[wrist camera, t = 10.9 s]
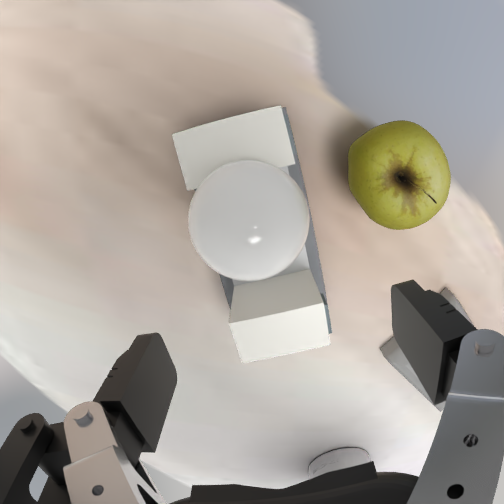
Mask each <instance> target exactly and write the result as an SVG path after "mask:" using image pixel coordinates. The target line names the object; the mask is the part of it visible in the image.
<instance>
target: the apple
mask: <svg viewBox="0 0 504 504" xmlns="http://www.w3.org/2000/svg"><path fill="white" fill-rule="evenodd" d="M450 180H451V176H450V170H449V165H448V161H447V159H446V156H445V154H444V152H443V150H442V148H441V146H440V144H439V143H438V142H437V140H436V139H435V138H434V137H433V136H432V135H431V134H430V133H429V132H428V131H427V130H425V129H424V128H422V127H421V126H420V125H418V124H415V123H413V122H409V121H393V122H389V123H385V124H382V125H379V126H377V127H375V128H373V129H371V130H369V131H368V132H366V133H365V134H364V135H362V136H361V137H360V138H358V139H357V140H356V141H355V142H354V143H353V144H352V145H351V146H350V149H349V152H348V183H349V187H350V190H351V192H352V194H353V196H354V197H355V199H356V200H357V202H358V203H359V204H360V206H361V207H362V208H363V210H364V211H365V213H366V214H367V215H368V216H369V218H370V219H372V220H373V221H374V222H376V223H378V224H379V225H382V226H384V227H387V228H390V229H396V230H402V229H410V228H413V227H417V226H419V225H421V224H423V223H425V222H427V221H428V220H430V219H431V218H432V217H433V216H434V215H436V214H437V212H438V211H439V210H440V209H441V208H442V206H443V205H444V203H445V201H446V199H447V196H448V193H449V188H450Z"/></svg>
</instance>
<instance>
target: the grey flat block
mask: <svg viewBox="0 0 504 504" xmlns="http://www.w3.org/2000/svg"><path fill="white" fill-rule="evenodd" d="M440 294H441V295H442V296H443V297H444V298H446V299H447V300H448V301H449V302H450V304H452V305H453V306H454V307H455V308H456V310H458V311H459V312H460V313H461V314H462V315H463V316H464V317H465V318H466V319H467V320H468V321H469V322H470V323H471V324H472V322H471V321H470V319H469V317H468V316H467V314H466V312H465V311H464V309H463V308H462V306H461V304H460V303H459V301H458V300H457V299H456V297H455V296H454V295H453V294H452V293H451V292H450V291H449V290H448V289H447V288H445V289H444V290H443V291H442V292H441V293H440ZM472 325H473V324H472ZM380 350H381V351H382V353H383V355H384V357H385V358H386V359H387V360H388V362H389V363H390V364H391V365H392V366H393V367H394V368H395V369H396V370H397V371H398V372H400V373H401V374H402V375H403V376H404V377H405V378H406V379H407V380H408V381H409V382H410V383H411V384H412V385H413V386H414V387H415V388H416V389H417V390H418V391H419V392H420V393H422V394H423V395H424V396H425V397H426V398H427V399H428V400H429V401H430V402H431V403H432V401H431V399H430V398H429V396H428V394H427V392H426V391H425V389H424V387H423V385H422V384H421V382H420V380H419V378H418V377H417V375H416V373H415V372H414V370H413V368H412V367H411V365H410V363H409V362H408V360H407V358H406V357H405V355H404V353H403V352H402V350H401V348H400V347H399V345H398V344H397V342H396V340H395V337H393V338H392V339H391V340H389V341H388V342H387V343H386V344H385V345H384V346H382V347H381V348H380ZM445 403H446V401H444V402H442V403H439V404H437V405H434V406H435V407H436V408H437V409H438V410H439V411H440V412H441V411H442V410H443V409H444V407H445ZM432 404H433V403H432Z"/></svg>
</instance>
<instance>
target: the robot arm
mask: <svg viewBox="0 0 504 504" xmlns="http://www.w3.org/2000/svg"><path fill="white" fill-rule="evenodd" d="M391 303H392V328H393V333H394V337H395V340H396V342H397V344H398V345H399V347H400V348H401V350H402V352H403V353H404V355H405V357H406V358H407V360H408V362H409V363H410V365H411V367H412V368H413V370H414V372H415V373H416V375H417V377H418V378H419V380H420V382H421V384H422V385H423V387H424V389H425V391H426V392H427V394H428V396H429V398H430V399H431V401H432V403H433V405H437V404H439V403H442V402H444V401H446V403H445V407H444V410H443V413H442V416H441V420H440V423H439V426H438V429H437V432H436V435H435V437H434V440H433V443H432V446H431V448H430V451H429V454H428V456H427V459H426V461H425V464H424V466H423V469H422V471H421V474H420V476H419V477H417V476H414V475H410V474H405V473H397V472H376V469H375V465H374V462H373V461H372V462H371V461H370V457H369V454H368V453H367V452H366V451H365V450H363V449H360V448H343V449H338V450H334V451H331V452H328V453H325V454H323V455H321V456H319V457H318V458H316V459H315V460H314V461H313V462H312V463H311V464H310V465H309V468H308V472H309V480H307V481H304V482H301V483H299V484H296V485H293V486H290V487H287V488H284V489H268V488H259V487H251V486H243V485H236V484H229V485H192V491H191V496H190V497H188V498H184V499H181V500H178V501H175V502H173V503H170V504H492V503H493V499H494V495H495V492H496V488H497V484H498V480H499V475H500V471H501V466H502V461H503V456H504V336H503V335H501V334H500V333H498V332H496V331H493V330H488V329H480V330H477V329H476V328H475V327H474V326H473V325H472V324H471V323H470V322H469V321H468V320H467V319H466V318H465V317H464V316H463V315H462V314H461V313H460V312H459V311H458V310H456V308H455V307H454V306H453V305H452V304H450V302H449V301H448V300H447V299H446V298H444V297H443V296H442V295H441V294H438V293H436V292H434V291H431V290H427V291H424V290H423V289H422V288H421V287H420V286H419V285H418V284H417V283H416V282H415V281H414V280H410V281H406V282H402V283H399V284H395V285H392V287H391ZM176 384H177V373H176V369H175V366H174V364H173V362H172V360H171V357H170V355H169V353H168V351H167V348H166V346H165V344H164V341H163V339H162V337H161V335H160V334H159V333H151V334H144V335H138V336H137V337H136V338H135V340H134V341H133V343H132V345H131V347H130V348H129V350H127V351H126V352H125V353H123V354H122V355H121V356H120V357H119V358H118V359H117V360H116V362H115V364H114V365H113V367H112V370H110V372H109V374H108V378H106V379H105V381H104V382H103V384H102V386H101V387H100V389H99V391H98V393H97V394H96V396H95V398H94V400H93V401H92V402H84V403H81V404H79V405H77V406H75V407H74V408H73V409H71V410H70V411H69V412H68V414H67V415H66V417H65V419H64V422H61V423H56V424H51V425H49V424H48V422H47V421H46V420H45V419H44V417H43V416H42V415H41V414H39V413H33V414H29V415H27V416H25V417H23V418H22V419H20V420H19V421H18V422H17V423H16V425H15V426H14V428H13V430H12V431H11V432H10V434H9V436H8V437H7V439H6V441H5V442H4V444H3V445H2V447H1V449H0V504H167V503H166V502H165V500H164V499H163V497H162V495H161V494H160V492H159V490H158V489H157V487H156V485H155V484H154V482H153V480H152V479H151V477H150V475H149V473H148V471H147V470H146V468H145V466H144V464H143V463H142V461H141V460H140V459H139V457H140V454H141V452H155V451H156V447H157V444H158V441H159V438H160V434H161V431H162V428H163V425H164V422H165V418H166V415H167V412H168V409H169V406H170V403H171V400H172V396H173V393H174V390H175V387H176ZM38 466H39V467H40V468H41V469H42V470H43V471H44V472H45V473H46V474H47V475H48V476H49V477H48V479H47V482H46V484H45V486H44V488H43V491H42V493H41V496H40V498H39V500H38V502H37V501H36V500H34V499H33V497H32V496H31V494H30V491H29V484H30V482H31V480H32V478H33V475H34V473H35V471H36V469H37V467H38Z"/></svg>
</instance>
